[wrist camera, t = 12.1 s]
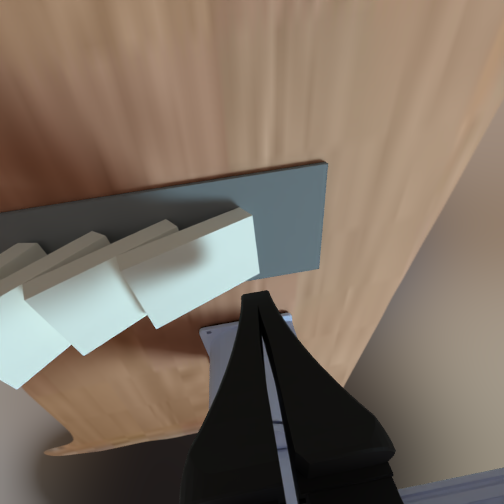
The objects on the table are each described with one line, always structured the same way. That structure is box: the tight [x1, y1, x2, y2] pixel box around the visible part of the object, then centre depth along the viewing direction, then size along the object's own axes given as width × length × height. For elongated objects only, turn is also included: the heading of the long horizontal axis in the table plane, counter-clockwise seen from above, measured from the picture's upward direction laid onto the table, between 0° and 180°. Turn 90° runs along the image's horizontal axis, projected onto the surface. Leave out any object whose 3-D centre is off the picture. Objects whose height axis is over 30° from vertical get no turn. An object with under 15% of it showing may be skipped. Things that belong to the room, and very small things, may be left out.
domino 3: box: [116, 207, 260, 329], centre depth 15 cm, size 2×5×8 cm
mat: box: [0, 162, 328, 282], centre depth 17 cm, size 27×9×1 cm, turn 96°
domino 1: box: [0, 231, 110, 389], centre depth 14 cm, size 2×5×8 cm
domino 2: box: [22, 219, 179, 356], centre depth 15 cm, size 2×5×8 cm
